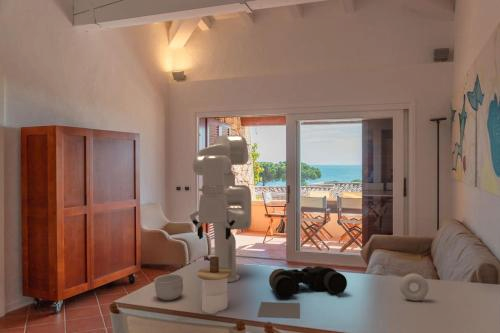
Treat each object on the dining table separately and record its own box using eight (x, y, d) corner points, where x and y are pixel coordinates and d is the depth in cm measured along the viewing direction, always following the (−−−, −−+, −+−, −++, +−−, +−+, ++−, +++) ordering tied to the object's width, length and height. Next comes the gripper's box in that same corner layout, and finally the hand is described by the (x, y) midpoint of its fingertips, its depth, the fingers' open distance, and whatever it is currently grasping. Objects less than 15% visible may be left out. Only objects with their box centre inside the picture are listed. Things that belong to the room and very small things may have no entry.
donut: (427, 299, 145) (427, 272, 145) (429, 303, 142) (429, 275, 142) (399, 298, 148) (398, 271, 147) (400, 301, 144) (400, 274, 144)
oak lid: (201, 270, 145) (201, 253, 145) (233, 270, 144) (233, 254, 144) (193, 279, 134) (193, 261, 134) (228, 280, 132) (227, 262, 132)
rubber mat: (261, 304, 143) (261, 301, 143) (299, 305, 141) (299, 303, 141) (257, 319, 129) (257, 316, 129) (299, 320, 127) (299, 318, 127)
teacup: (176, 303, 144) (176, 282, 144) (149, 301, 147) (149, 280, 147) (190, 291, 158) (189, 271, 158) (164, 290, 160) (164, 270, 160)
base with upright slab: (207, 315, 133) (207, 280, 133) (198, 306, 141) (198, 273, 141) (231, 310, 137) (231, 276, 137) (221, 302, 145) (221, 270, 145)
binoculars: (276, 302, 143) (275, 275, 144) (262, 289, 163) (261, 265, 164) (348, 296, 150) (346, 269, 150) (326, 284, 170) (325, 261, 170)
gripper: (186, 191, 136) (187, 240, 137) (235, 191, 134) (236, 241, 134) (192, 189, 144) (193, 236, 144) (239, 189, 141) (239, 236, 142)
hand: (214, 238), depth 139 cm, fingers open, 9 cm apart
